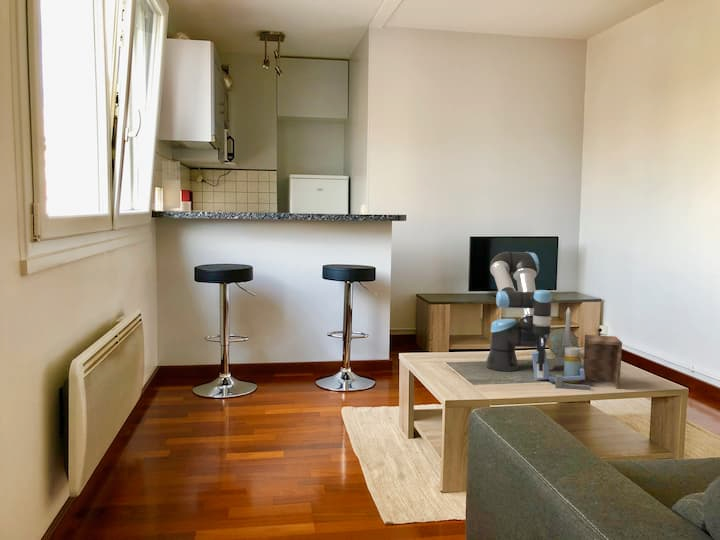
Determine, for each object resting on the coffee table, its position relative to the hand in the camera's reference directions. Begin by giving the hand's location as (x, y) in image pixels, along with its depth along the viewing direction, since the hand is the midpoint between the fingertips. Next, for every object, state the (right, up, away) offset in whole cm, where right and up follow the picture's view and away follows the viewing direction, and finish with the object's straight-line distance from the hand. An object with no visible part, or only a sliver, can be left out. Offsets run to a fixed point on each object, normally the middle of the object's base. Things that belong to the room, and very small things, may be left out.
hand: (539, 376), depth 264 cm
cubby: (+25, -2, -5) cm, 26 cm away
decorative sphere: (+25, +2, +44) cm, 51 cm away
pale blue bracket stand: (+8, 0, -3) cm, 8 cm away
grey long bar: (+10, -3, -13) cm, 17 cm away
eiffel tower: (+18, 0, +19) cm, 26 cm away
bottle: (+14, -2, -3) cm, 14 cm away
